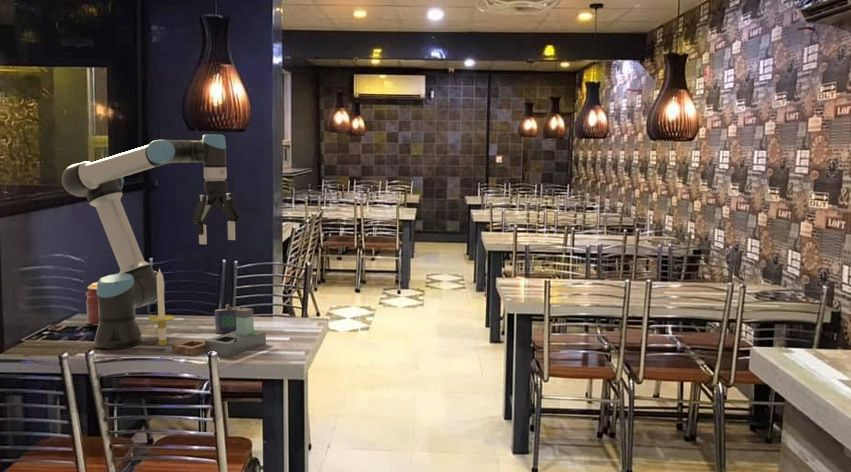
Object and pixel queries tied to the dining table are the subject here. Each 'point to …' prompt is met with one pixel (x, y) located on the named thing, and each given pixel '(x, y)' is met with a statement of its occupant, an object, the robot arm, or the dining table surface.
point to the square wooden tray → (189, 347)
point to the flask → (225, 320)
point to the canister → (92, 304)
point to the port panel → (234, 343)
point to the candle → (161, 311)
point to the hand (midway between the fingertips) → (217, 242)
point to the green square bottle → (244, 321)
